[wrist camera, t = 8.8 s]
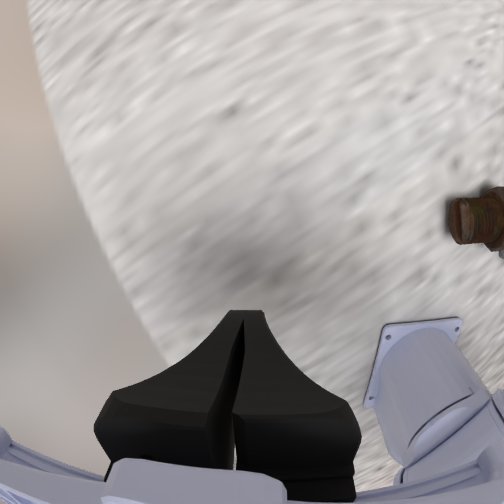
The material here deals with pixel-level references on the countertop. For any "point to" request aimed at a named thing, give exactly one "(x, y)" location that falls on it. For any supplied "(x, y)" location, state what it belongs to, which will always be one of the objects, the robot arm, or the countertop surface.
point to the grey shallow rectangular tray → (501, 254)
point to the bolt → (479, 219)
